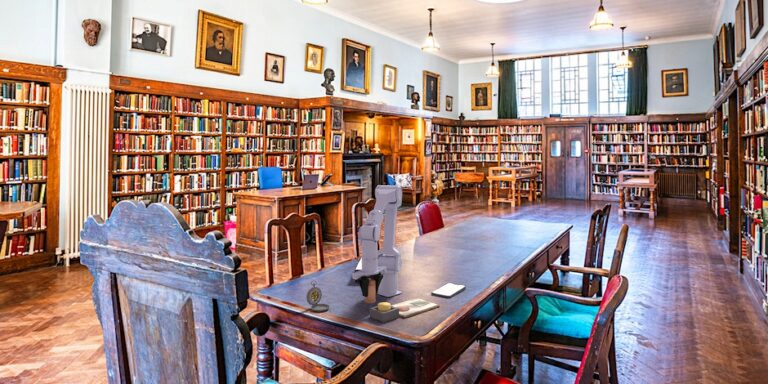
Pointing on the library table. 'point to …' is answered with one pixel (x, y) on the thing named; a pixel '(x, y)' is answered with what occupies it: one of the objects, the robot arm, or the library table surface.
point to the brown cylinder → (371, 292)
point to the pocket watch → (316, 299)
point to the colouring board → (414, 307)
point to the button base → (384, 314)
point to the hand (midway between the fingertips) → (370, 295)
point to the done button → (384, 306)
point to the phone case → (448, 290)
